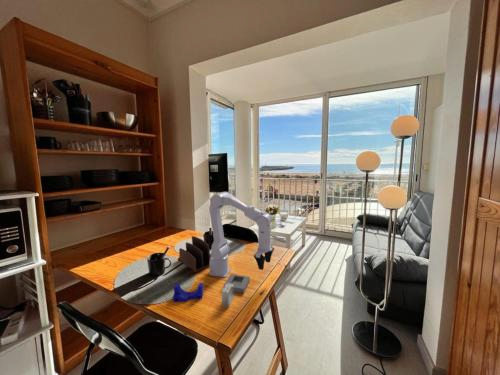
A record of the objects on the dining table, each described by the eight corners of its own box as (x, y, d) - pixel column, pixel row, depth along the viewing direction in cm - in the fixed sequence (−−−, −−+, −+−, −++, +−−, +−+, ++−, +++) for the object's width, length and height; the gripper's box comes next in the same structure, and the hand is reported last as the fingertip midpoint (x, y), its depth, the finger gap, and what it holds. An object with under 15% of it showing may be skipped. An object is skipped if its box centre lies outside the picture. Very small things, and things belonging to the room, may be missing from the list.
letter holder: (194, 254, 134) (192, 234, 132) (211, 266, 120) (210, 242, 118) (179, 260, 127) (177, 238, 125) (195, 272, 113) (194, 248, 111)
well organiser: (223, 290, 97) (223, 285, 97) (231, 278, 107) (230, 274, 107) (243, 293, 95) (243, 288, 94) (249, 281, 104) (249, 276, 104)
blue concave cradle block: (173, 302, 90) (172, 289, 89) (176, 295, 94) (176, 283, 94) (201, 301, 90) (200, 288, 90) (203, 294, 95) (202, 282, 94)
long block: (222, 306, 87) (221, 291, 86) (227, 297, 93) (226, 282, 92) (228, 307, 86) (228, 292, 85) (233, 298, 92) (233, 283, 91)
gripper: (265, 246, 91) (265, 274, 93) (278, 235, 103) (277, 260, 105) (251, 243, 94) (251, 270, 96) (265, 232, 107) (265, 257, 108)
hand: (264, 265), depth 101 cm, fingers open, 7 cm apart
